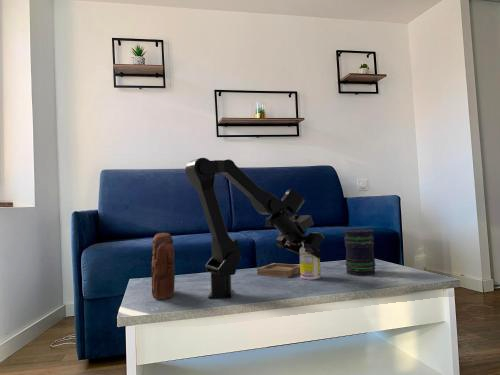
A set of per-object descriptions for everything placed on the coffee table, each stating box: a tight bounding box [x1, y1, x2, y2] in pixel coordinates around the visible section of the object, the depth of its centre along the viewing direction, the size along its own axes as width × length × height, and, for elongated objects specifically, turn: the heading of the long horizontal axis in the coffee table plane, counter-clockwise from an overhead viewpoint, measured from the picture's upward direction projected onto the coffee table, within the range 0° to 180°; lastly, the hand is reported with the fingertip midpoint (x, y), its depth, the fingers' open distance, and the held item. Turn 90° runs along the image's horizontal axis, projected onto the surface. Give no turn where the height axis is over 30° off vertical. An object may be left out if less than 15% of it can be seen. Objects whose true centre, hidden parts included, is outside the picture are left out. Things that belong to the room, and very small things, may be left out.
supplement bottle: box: [298, 243, 322, 281], centre depth 116 cm, size 7×7×13 cm
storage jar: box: [344, 228, 376, 277], centre depth 120 cm, size 10×10×15 cm
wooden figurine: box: [151, 232, 176, 300], centre depth 101 cm, size 12×6×18 cm, turn 19°
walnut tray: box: [256, 262, 301, 279], centre depth 125 cm, size 12×12×2 cm
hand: (312, 256), depth 116 cm, fingers closed on supplement bottle, 7 cm apart
